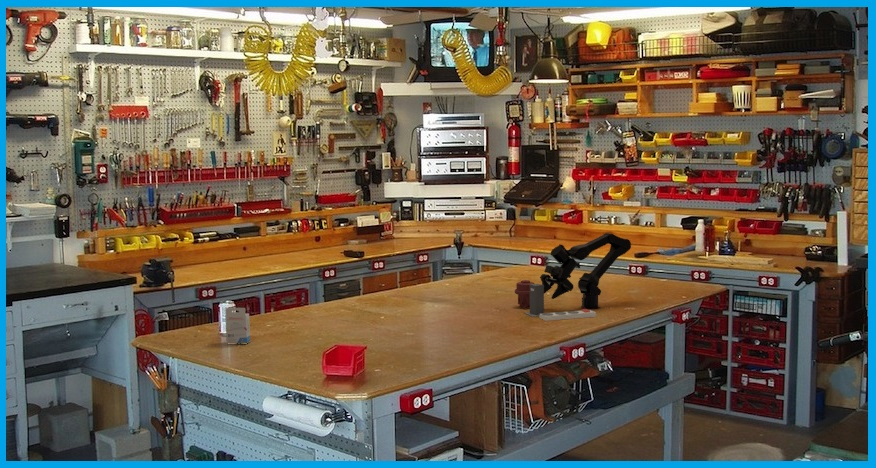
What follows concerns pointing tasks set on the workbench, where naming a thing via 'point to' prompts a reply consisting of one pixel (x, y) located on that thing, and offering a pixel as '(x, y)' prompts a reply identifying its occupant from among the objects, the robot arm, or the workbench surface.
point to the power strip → (568, 315)
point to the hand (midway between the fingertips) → (546, 297)
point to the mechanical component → (523, 293)
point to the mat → (531, 314)
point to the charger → (536, 299)
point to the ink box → (237, 326)
